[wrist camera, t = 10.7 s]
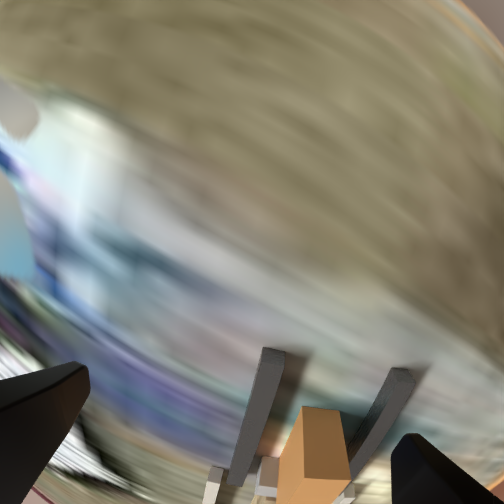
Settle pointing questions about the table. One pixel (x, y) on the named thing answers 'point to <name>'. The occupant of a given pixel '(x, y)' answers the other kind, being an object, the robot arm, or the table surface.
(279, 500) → the tan rectangular block
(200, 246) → the table surface
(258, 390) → the slot rails
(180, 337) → the table surface
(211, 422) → the table surface
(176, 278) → the table surface
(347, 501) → the tray
